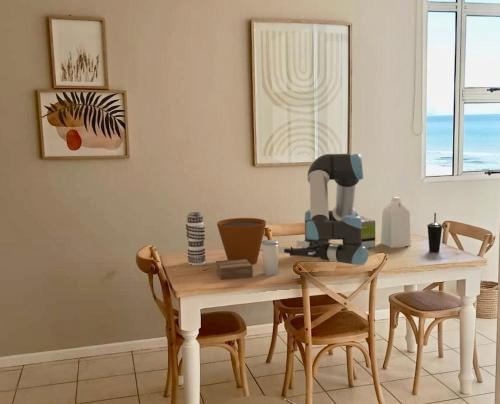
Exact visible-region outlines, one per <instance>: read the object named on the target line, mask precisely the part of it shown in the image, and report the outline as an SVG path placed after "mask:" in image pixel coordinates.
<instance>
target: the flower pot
mask: <svg viewBox="0 0 500 404" xmlns="http://www.w3.org/2000/svg"><path fill="white" fill-rule="evenodd" d="M266 225H267V221H266V220H264V219H261V218H258V217H256V218H255V217H238V218H237V217H236V218H235V217H234V218H233V217H232V218H225V219H222V220H218V222H216V226H217V228H218V232H219V235H220V239H221V243H222V246H223V249H224V252H225V256H226V260H237V259H247V260H248V262H249V263H250V264H251V265H252V266H254V265H256V264H257V263H258V259H259V255H260V253H261V252H260V251H261V247H262V241H263V240H264V239H263V237H264V233H265V228H266Z"/></svg>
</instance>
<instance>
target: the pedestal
mask: <svg viewBox="0 0 500 404" xmlns="http://www.w3.org/2000/svg"><path fill="white" fill-rule="evenodd" d="M215 266H216V273H217V274H218V277H219V279H221V280H234V279H244V278H245V279H246V278H247V279H248V278H253V265H251V264H250V263H249V262H248V260H247V259H237V260H227V259H226V260H216V264H215Z"/></svg>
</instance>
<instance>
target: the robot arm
mask: <svg viewBox="0 0 500 404" xmlns="http://www.w3.org/2000/svg"><path fill="white" fill-rule="evenodd" d="M363 179H364V169H363V160H362V154H359V153H352V152H351V153H326V154H321V155H320V156H318V157H317V158H316V159H315V160H314V161H313V162H312V163H311V165H310V166H309V168H308V170H307V182H308V184H309V193H310V194H309V200H310V203H309V205H310V209H308V210H306V211H305V212H304V240H296V242H295V243H296V248H293V246H283V245H278V254H286V255H287V254H289V256H290V257H292V256H293V257H311V258H312V257H316V258H317V257H319V258H320V260H321V261H327V262H335V263H336V264H339V263H343V264H349V265H354V266H355V265H357V266H364V265H366V263H367V261H368V259H369V251H368V250H369V249H368V248H366V247H363V246H362V242H361V240H362V225H361V218H360V217H359V212H358V210H356V209H355V208H354V205H355V204H354V203H355V194H356V185H358V183H359V182H360V181H361V180H363ZM330 181H334V182H335V184H336V192H335V193H336V198H335V206H334V207H333V209H332V210H330V209H329V192H328V183H329V182H330ZM329 240H331V241H332V240H334V241H335V240H340V241H341V240H342V243H338V242H337V243H336V242H330V241H329Z"/></svg>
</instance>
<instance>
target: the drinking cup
mask: <svg viewBox="0 0 500 404" xmlns="http://www.w3.org/2000/svg"><path fill="white" fill-rule="evenodd" d="M436 215H437V213H436V212H434V215H433V216H434V220H433V222H431V223H429V224H427V225H426V226H427V237H428V251H429V253H434V254H436V253H440V247H441V242H442V241H441V238H442V233H443V227H444V225H443V224H441V223H438V222H437V218H436V217H437V216H436Z"/></svg>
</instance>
